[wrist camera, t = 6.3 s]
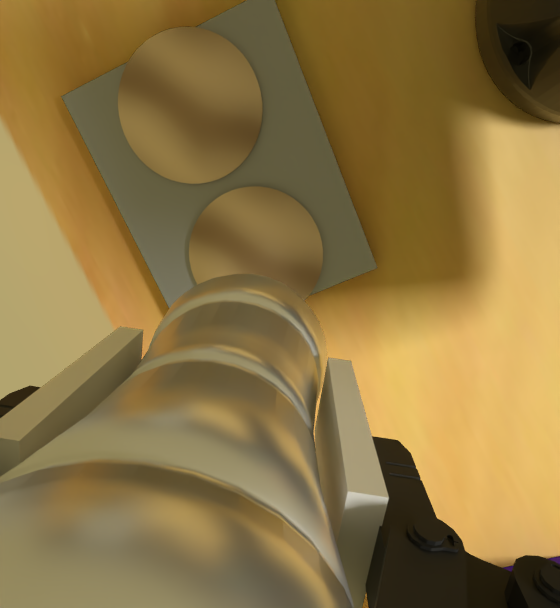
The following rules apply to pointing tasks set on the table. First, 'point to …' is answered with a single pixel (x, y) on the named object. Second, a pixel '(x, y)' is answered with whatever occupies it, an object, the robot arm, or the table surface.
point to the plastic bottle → (187, 472)
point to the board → (252, 172)
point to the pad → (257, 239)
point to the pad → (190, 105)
